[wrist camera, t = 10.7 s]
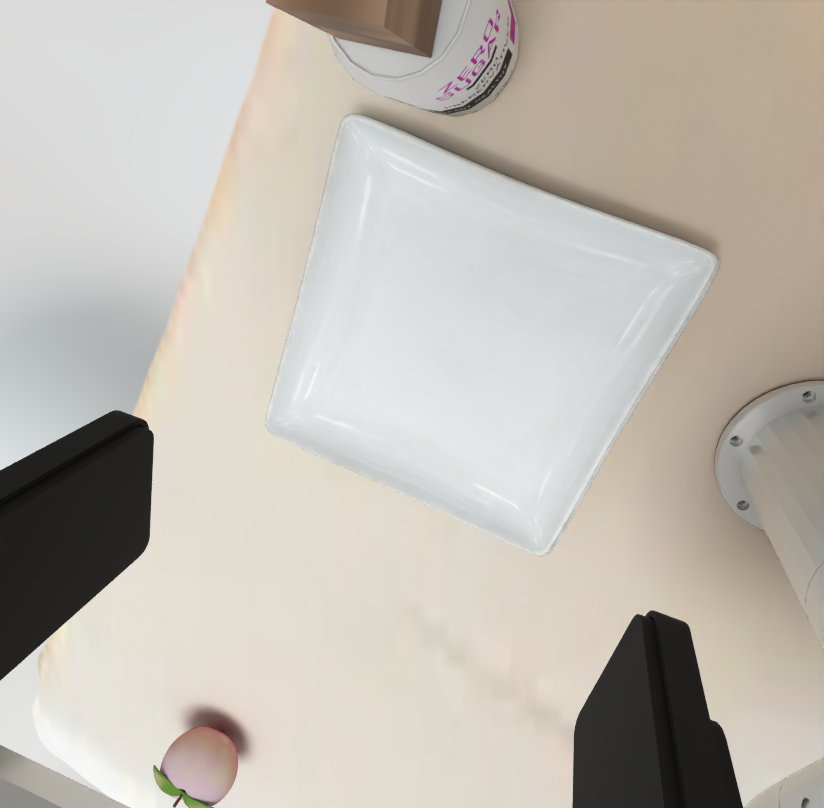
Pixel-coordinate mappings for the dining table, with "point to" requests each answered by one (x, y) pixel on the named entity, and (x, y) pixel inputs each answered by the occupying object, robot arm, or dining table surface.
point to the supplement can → (443, 60)
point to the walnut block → (372, 21)
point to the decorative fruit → (198, 768)
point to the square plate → (474, 333)
